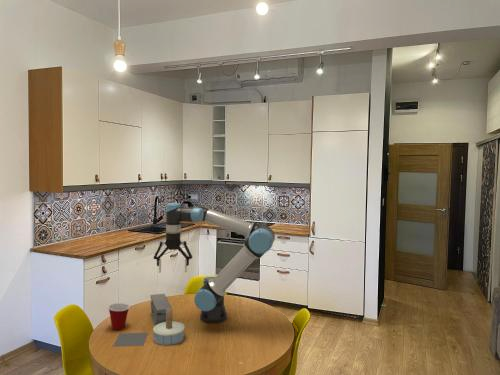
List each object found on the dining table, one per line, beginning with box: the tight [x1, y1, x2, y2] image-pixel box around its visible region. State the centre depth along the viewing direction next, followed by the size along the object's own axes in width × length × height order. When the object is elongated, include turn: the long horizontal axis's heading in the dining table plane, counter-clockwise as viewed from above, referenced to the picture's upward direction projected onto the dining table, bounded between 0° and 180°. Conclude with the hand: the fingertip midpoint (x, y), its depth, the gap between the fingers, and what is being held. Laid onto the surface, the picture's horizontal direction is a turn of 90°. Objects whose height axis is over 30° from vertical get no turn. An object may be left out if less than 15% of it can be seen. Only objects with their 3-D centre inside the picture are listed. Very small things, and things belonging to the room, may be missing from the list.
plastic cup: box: [107, 302, 131, 331], centre depth 191 cm, size 11×11×12 cm
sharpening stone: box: [150, 293, 173, 326], centre depth 202 cm, size 25×8×11 cm, turn 22°
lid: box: [152, 308, 186, 336], centre depth 180 cm, size 15×15×10 cm
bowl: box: [153, 330, 185, 346], centre depth 180 cm, size 14×14×5 cm
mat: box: [112, 332, 149, 348], centre depth 179 cm, size 14×14×1 cm
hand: (172, 271), depth 196 cm, fingers open, 13 cm apart
